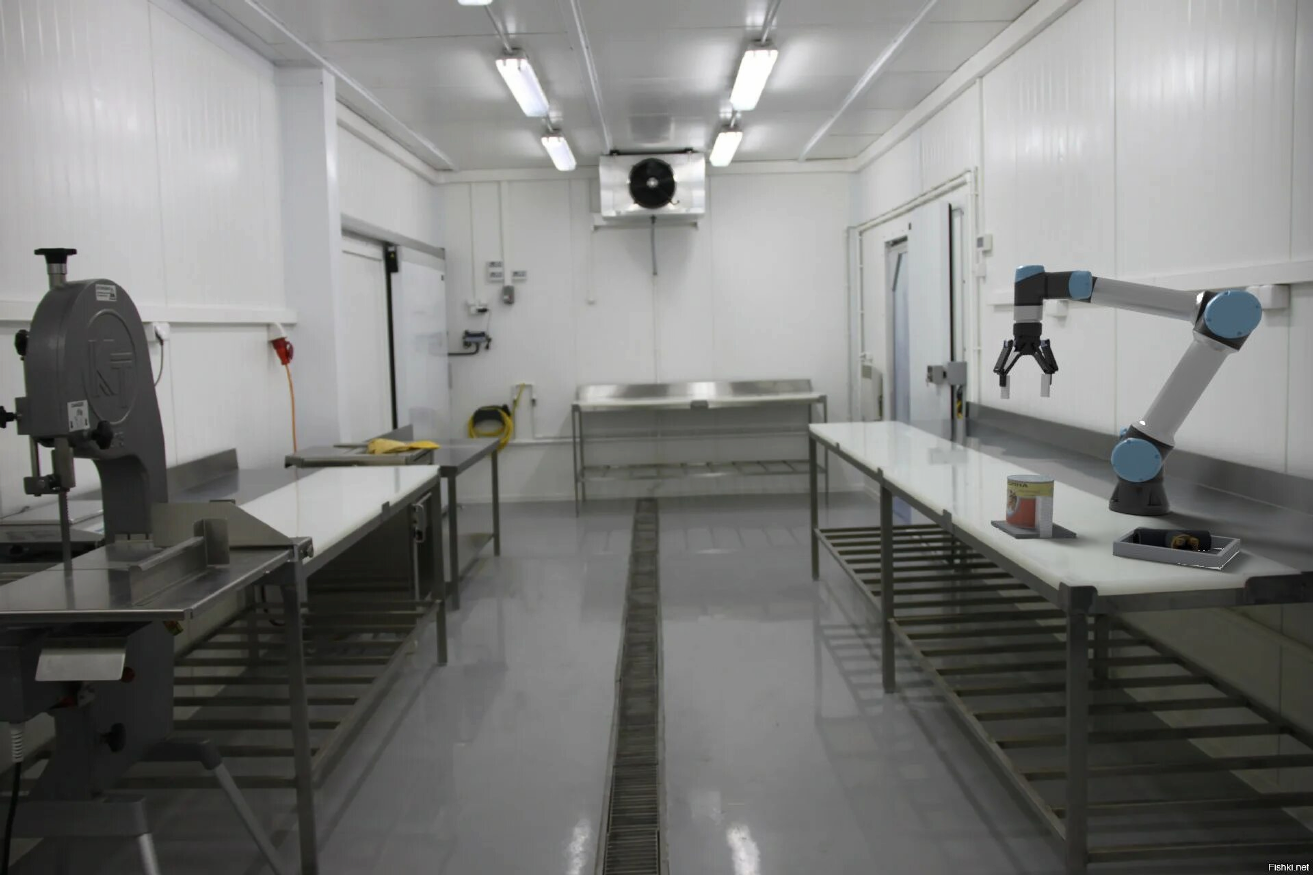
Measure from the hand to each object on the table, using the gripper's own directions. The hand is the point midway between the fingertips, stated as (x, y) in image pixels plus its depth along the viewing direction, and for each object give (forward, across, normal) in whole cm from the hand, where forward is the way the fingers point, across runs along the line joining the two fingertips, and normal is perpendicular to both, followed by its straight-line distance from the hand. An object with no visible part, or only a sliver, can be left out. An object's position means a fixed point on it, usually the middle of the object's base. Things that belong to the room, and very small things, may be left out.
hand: (1025, 398), depth 254 cm
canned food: (+31, +16, +22) cm, 41 cm away
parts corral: (+32, +3, +55) cm, 63 cm away
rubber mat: (+32, +17, +24) cm, 43 cm away
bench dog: (+32, +19, +31) cm, 48 cm away
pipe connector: (+32, +3, +54) cm, 63 cm away
